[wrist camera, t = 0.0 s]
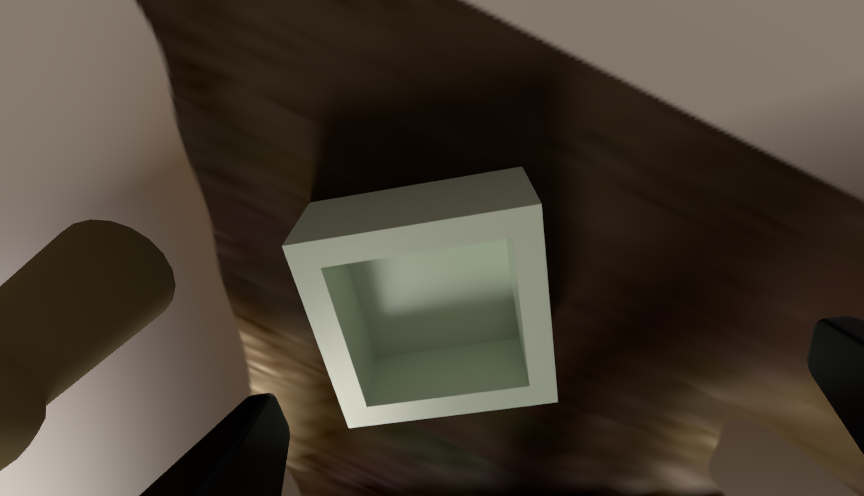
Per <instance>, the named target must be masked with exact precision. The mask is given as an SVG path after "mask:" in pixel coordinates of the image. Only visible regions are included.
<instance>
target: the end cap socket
mask: <svg viewBox="0 0 864 496" xmlns="http://www.w3.org/2000/svg"><path fill="white" fill-rule="evenodd" d="M282 248H283V250H284V253H285V256H286V258H287V261H288V264H289V267H290V269H291V272H292V275H293V278H294V280H295V283H296V286H297V288H298V291H299V294H300V297H301V299H302V302H303V305H304V308H305V310H306V313H307V316H308V318H309V321H310V324H311V327H312V329H313V332H314V335H315V338H316V340H317V343H318V346H319V348H320V351H321V354H322V357H323V359H324V362H325V365H326V368H327V370H328V373H329V376H330V378H331V381H332V384H333V387H334V389H335V392H336V395H337V398H338V400H339V403H340V406H341V408H342V411H343V414H344V417H345V419H346V422H347V425H348V428H354V427H362V426H370V425H378V424H386V423H394V422H402V421H411V420H419V419H427V418H435V417H443V416H451V415H459V414H467V413H475V412H483V411H491V410H499V409H507V408H515V407H523V406H531V405H539V404H547V403H555V402H558V396H557V384H556V372H555V360H554V348H553V336H552V324H551V312H550V299H549V287H548V275H547V263H546V251H545V239H544V227H543V215H542V204H541V202H540V200H539V198H538V196H537V194H536V192H535V190H534V188H533V186H532V184H531V182H530V181H529V179H528V177H527V175H526V173H525V171H524V169H523V167H516V168H510V169H504V170H498V171H493V172H487V173H481V174H475V175H469V176H463V177H457V178H451V179H446V180H440V181H434V182H428V183H422V184H416V185H410V186H405V187H399V188H393V189H387V190H381V191H375V192H369V193H363V194H358V195H352V196H346V197H340V198H334V199H328V200H322V201H317V202H311V203H309V205H308V206H307V208H306V209H305V211H304V212H303V214H302V216H301V217H300V219H299V220H298V222H297V223H296V225H295V226H294V228H293V230H292V231H291V233H290V234H289V236H288V237H287V239H286V241H285V242H284V244H283V245H282Z"/></svg>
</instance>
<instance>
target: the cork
mask: <svg viewBox="0 0 864 496" xmlns="http://www.w3.org/2000/svg"><path fill="white" fill-rule="evenodd" d="M174 291H175V280H174V276H173V271H172V268H171V266H170V265H169V263H168V261H167V259H166V258H165V256H164V254H163V253H162V252H161V251H160V250H159V249H158V248H157V247H156V246H155V245H154V244H153V243H152V242H151V241H150V240H149V239H148V238H146V237H145V236H143V235H141V234H140V233H138V232H137V231H135V230H133V229H132V228H130V227H127V226H124V225H121V224H118V223H115V222H112V221H103V220H87V221H83V222H79V223H75V224H73V225H71V226H70V227H68V228H67V229H66V230H64V231H63V232H61V233H60V234H59V235H58V236H57V237H56V238H54V239H53V240H52V241H51V242H50V243H49V244H48V245H47V246H46V247H44V248H43V249H42V250H41V251H40V252H39V253H38V254H36V255H35V256H34V257H33V258H32V259H31V260H30V261H28V262H27V263H26V264H25V265H24V266H23V267H22V268H21V269H19V270H18V271H17V272H16V273H15V274H14V275H13V276H12V277H10V278H9V279H8V280H7V281H6V282H5V283H4V284H2V286H0V471H1V470H2V469H3V468H5V467H6V466H8V465H9V464H10V463H12V462H13V461H15V460H16V459H17V458H18V457H19V456H20V455H21V454H22V453H23V452H24V451H25V449H26V448H27V447H28V446H29V445H30V444H31V442H32V440H33V439H34V437H35V436H36V434H37V433H38V431H39V429H40V427H41V425H42V423H43V421H44V419H45V416H46V405H48V404H49V403H50V402H51V401H52V400H54V399H55V398H56V397H58V396H59V395H60V394H61V393H63V392H64V391H65V390H66V389H68V388H69V387H70V386H71V385H73V384H74V383H75V382H76V381H78V380H79V379H80V378H81V377H82V376H84V375H85V374H86V373H87V372H89V371H90V370H91V369H93V368H94V367H95V366H96V365H98V364H99V363H100V362H101V361H103V360H104V359H105V358H106V357H108V356H109V355H110V354H111V353H113V352H114V351H115V350H116V349H118V348H119V347H120V346H122V345H123V344H124V343H125V342H127V341H128V340H129V339H130V338H131V337H133V336H134V335H135V334H136V333H138V332H139V331H140V330H141V329H143V328H144V327H145V326H147V325H148V324H149V323H150V322H152V321H153V320H154V319H155V318H156V317H158V316H159V315H160V314H162V313H163V312H164V311H165V310H166V308H167V307H168V306H169V304H170V303H171V302H172V300H173V296H174Z"/></svg>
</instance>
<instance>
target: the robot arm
mask: <svg viewBox="0 0 864 496" xmlns="http://www.w3.org/2000/svg"><path fill="white" fill-rule="evenodd" d="M807 362H808V368H809V371H810V373H811V375H812V376H813V378H814V380H815V381H816V383H817V384H818V386H819V387H820V389H821V390H822V392H823V393H824V395H825V396H826V398H827V399H828V401H829V402H830V404H831V406H832V407H833V409H834V410H835V412H836V413H837V415H838V416H839V418H840V419H841V421H842V422H843V424H844V425H845V427H846V428H847V430H848V432H849V433H850V435H851V436H852V438H853V439H854V441H855V442H856V444H857V445H858V447H859V448H860V450H861V451H862V453H863V454H864V320H861V319H858V318H855V317H852V316H839V317H831V318H824V319H821V320H819V321H818V322H817V323H816V324H815V327H814V331H813V335H812V340H811V344H810V349H809V353H808V358H807ZM289 440H290V430H289V426H288V423H287V421H286V419H285V416H284V414H283V412H282V410H281V407H280V405H279V403H278V401H277V399H276V397H275V396H274V395H273V394H271V393H265V394H257V395H252V396H249V397H247V398H246V399H245V400H244V401H242V402H241V403H240V404H239V405H238V406H237V407H236V408H235V409H234V410H233V411H232V412H230V413H229V414H228V415H227V416H226V417H225V418H224V419H223V420H222V421H221V422H220V423H218V424H217V425H216V426H215V427H214V428H213V429H212V430H211V431H210V432H209V433H207V434H206V435H205V436H204V437H203V438H202V439H201V440H200V441H199V442H198V443H196V444H195V445H194V446H193V447H192V448H191V449H190V450H189V451H188V452H187V453H185V454H184V455H183V456H182V457H181V458H180V459H179V460H178V461H177V462H176V463H175V464H174V465H172V466H171V467H170V468H169V469H168V470H167V471H166V472H165V473H164V474H163V475H161V476H160V477H159V478H158V479H157V480H156V481H155V482H154V483H153V484H151V485H150V486H149V487H148V488H147V489H146V490H145V491H144V492H143V493H142V494H141V495H139V496H281V493H282V487H283V480H284V473H285V467H286V460H287V454H288V447H289Z"/></svg>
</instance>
